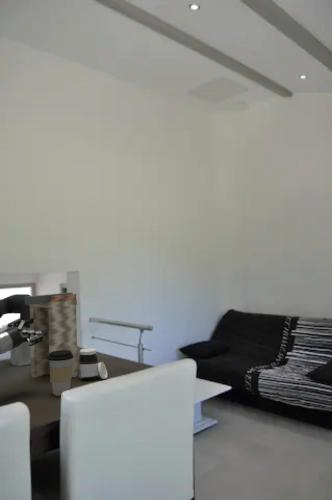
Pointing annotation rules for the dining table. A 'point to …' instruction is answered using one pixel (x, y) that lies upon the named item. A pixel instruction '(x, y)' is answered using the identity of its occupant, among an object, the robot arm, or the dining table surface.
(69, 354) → the coffee cup
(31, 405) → the dining table surface
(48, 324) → the wooden open box
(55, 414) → the dining table surface
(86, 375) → the spread jar
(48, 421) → the dining table surface
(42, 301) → the bar
